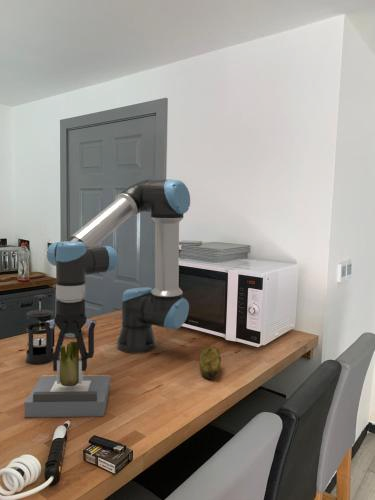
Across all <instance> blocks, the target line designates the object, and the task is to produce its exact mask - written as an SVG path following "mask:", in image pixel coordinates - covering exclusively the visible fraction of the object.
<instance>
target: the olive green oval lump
mask: <svg viewBox="0 0 375 500" xmlns="http://www.w3.org/2000/svg"><path fill="white" fill-rule="evenodd" d="M221 362H222V357H221V354H220V351H219V349H218V348H217V347H216V346H206V347H204V348H203V349H202V351H200V354H199V371H200V373H201V375H202V376H203V377H204V378H206V379H209V380H212V379H215V378H216V377H217V376H219V373H220V369H221Z"/></svg>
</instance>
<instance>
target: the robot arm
mask: <svg viewBox="0 0 375 500" xmlns="http://www.w3.org/2000/svg"><path fill="white" fill-rule="evenodd" d="M190 205H191V195H190V191H189V188H188V187H187V185H186V183H184V182H183V181H181V180H179V179H170V178H169V179H143V180H140V181H138V182H137V181H136V182H134V183H133V184H132V185H130V186H128V187H127V188H125V189H123V190H121V192H119V193H118V194H117V195H115V198H114V201H113V202H112V203H110V204H109V205H108V206H107V207H104V209H103V210H102V211H100V212H99V213H98V214H96V215H95V216H94V217H93V218H92V219H90V220H89V221H88V222H87V223H85V224H84V225H83V226H82V227H80V228H79V229H78V230H77V231H76V232H75V233H73V234H72V235H70V237H68V238H67V239H66V240H64V241H57V242H53V243H51V244H50V245H49V246H48V248H47V251H46V258H47V261H48V262H49V264H50V265H52V266H54V267H55V271H56V273H55V274H56V275H55V276H56V277H55V281H56V282H55V284H56V285H55V288H56V289H55V298H56V299H57V300H56V301H55V317H54V319H53V318H52V319H51V320H47V321H45V322H44V323H45V324H44V326H43V327H44V330H46V333H45V338H46V357H47V358H51V359H53V361H52V370H53V372H56V375H57V384H60V383H61V382H60V360H61V352H60V346H61V345H64V340H65V338H66V337H65V334H67V333H72V334H75V337H74V338H75V339H76V341H77V343H78V347H79V384H82V381H83V375H84V372H86V371H87V369H88V368H87V367H88V360H89V359H91V358H93V357H94V355H95V327H96V324H97V320H89V319H88V318H87V316H86V306H85V303H86V300H85V298H86V279H87V278H86V276H87V275H88V276H89V275H94V274H101V273H107V272H110V271H113V270H114V269H116V267H117V266H118V262H119V258H118V257H119V256H118V253H117V251H116V249H115V248H113V246H109V245H101V246H98V245H100V244H101V243H102V242H103V241H104V240H105V239H106V238H107V237H108V236H110V235H111V234H112V233H113V232H114V231H115V230H116V229H118V228H119V227H120V226H121V225H122V224H123V223H124V222H125V221H127V219H129V218H133V217H136V215H138V214H139V213H144V212H149V213H150V218H151V220H152V221H153V222H154V223H155V224H154V225H155V227H154V228H155V229H154V231H155V233H154V234H155V235H154V237H155V238H154V239H155V245H154V249H155V250H154V254H155V255H154V257H155V258H154V260H155V261H154V263H155V265H154V270H155V271H154V273H155V274H154V275H155V278H154V282H155V283H154V284H155V285H154V288H152V287H134V288H130V289H126V290H124V292H123V294H122V300H121V302H122V303H121V308H122V310H121V311H122V312H121V315H122V316H121V322H122V323H121V329H120V332H119V334H118V338H117V341H116V347H117V349H118V350H119V351H121V352H125V353H130V354H142V353H147V352H151V351H153V350H155V349H156V345H157V339H156V337H155V333H154V330H153V326H157V327H160V328H164V329H170V330H171V329H172V330H177V329H179V328H181V327H182V326H183V325H184V323H185V322H186V320H187V318H188V315H189V311H190V303H189V301H188V300H187V299H186V298H184V297H183V290H182V289H181V288H180V285H179V284H180V283H179V280H180V279H179V278H180V277H179V275H180V264H179V263H180V260H179V259H180V223H181V221H182V220H183V219H184V214H186V213H188V211H189V210H190V208H189V207H191V206H190ZM54 324H55V325H56V327H57V328H58V330H59V333H58V334H59V335H58V338H57V342H56V345H55V348H54V347H53V327H54ZM85 325H86V328H87V329H88V331H87V332H88V333H87V336H88V337H87V338H88V340H87V348H88V351H87V348H86V344H85V341H84V336H83V333H82V332H83V331H82V328H83V327H84V326H85ZM53 349H55V350H54V352H53Z"/></svg>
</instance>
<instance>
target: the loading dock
mask: <svg viewBox="0 0 375 500" xmlns="http://www.w3.org/2000/svg"><path fill="white" fill-rule="evenodd" d="M110 388H111V374H90V375H89V374H88V375H87V374H85V375H84V374H83V381H82V384H79V383H78V384H77V385H75V386H62V385H61V383H60V384H57V374H55V375H53V374H51V375H50V374H48V375H47V374H44V375H41V376H40V378H39V379H38V380H37V382H36V383H35V385H34V387H33V388H32V390H31V392H30V393H29V395H28V397H27V398H26V400H25V401H24V418H55V417H56V418H61V417H63V418H65V417H66V418H67V417H68V418H69V417H71V418H73V417H74V418H75V417H76V418H77V417H81V418H82V417H104V416H105V412H106V407H107V402H108V397H109V393H110Z"/></svg>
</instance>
